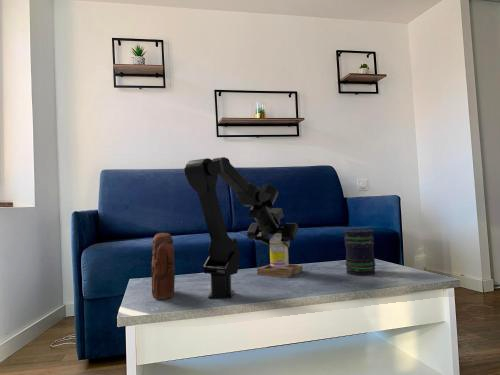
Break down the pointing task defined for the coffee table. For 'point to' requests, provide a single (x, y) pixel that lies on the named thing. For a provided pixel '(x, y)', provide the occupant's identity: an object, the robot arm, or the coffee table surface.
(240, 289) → the coffee table surface
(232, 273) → the robot arm
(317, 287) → the coffee table surface
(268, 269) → the walnut tray
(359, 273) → the storage jar
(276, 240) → the supplement bottle
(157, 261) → the wooden figurine
